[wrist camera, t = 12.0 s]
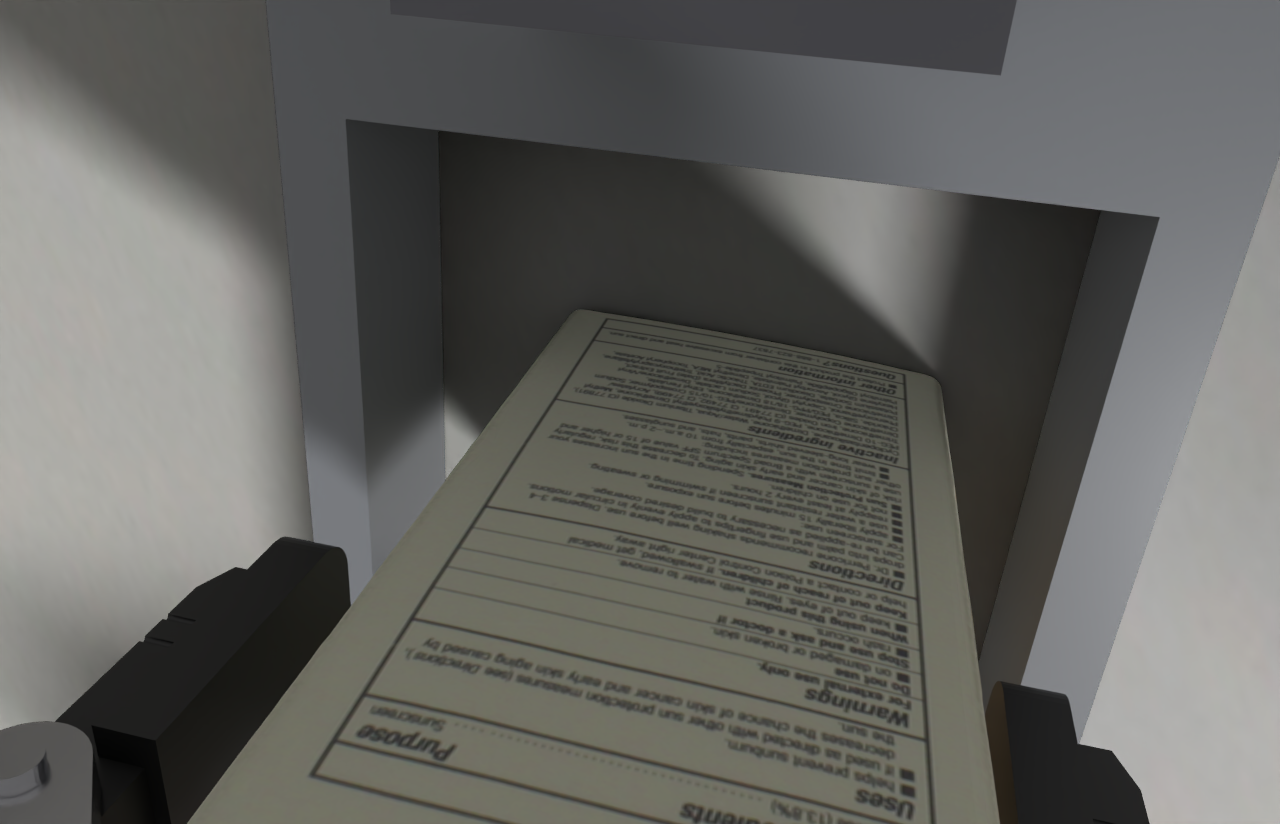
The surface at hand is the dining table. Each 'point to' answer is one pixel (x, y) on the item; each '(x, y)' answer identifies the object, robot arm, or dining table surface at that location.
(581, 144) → the grey open tray frame
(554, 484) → the skincare box
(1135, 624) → the dining table surface
